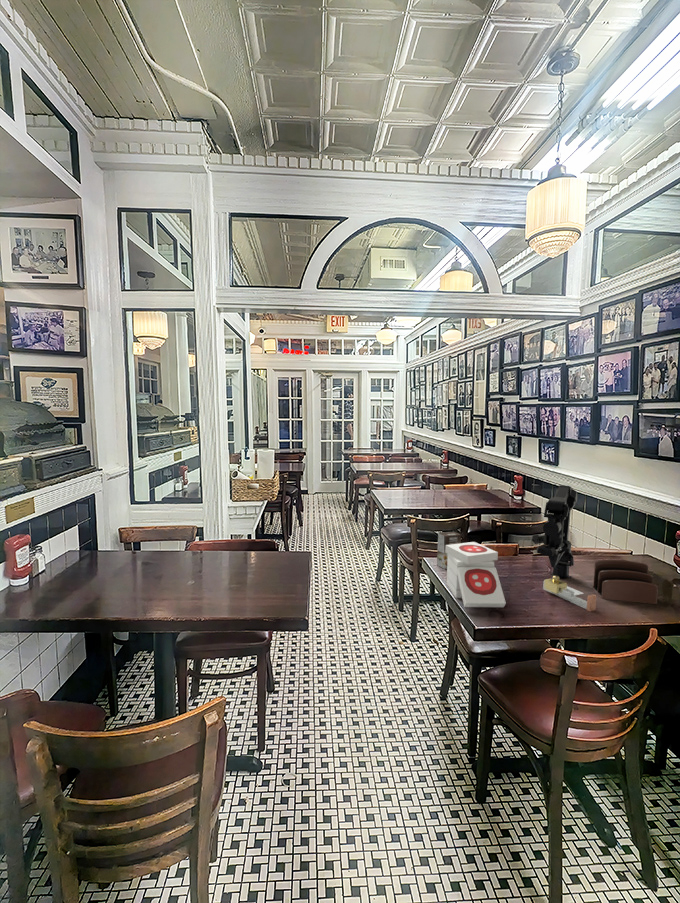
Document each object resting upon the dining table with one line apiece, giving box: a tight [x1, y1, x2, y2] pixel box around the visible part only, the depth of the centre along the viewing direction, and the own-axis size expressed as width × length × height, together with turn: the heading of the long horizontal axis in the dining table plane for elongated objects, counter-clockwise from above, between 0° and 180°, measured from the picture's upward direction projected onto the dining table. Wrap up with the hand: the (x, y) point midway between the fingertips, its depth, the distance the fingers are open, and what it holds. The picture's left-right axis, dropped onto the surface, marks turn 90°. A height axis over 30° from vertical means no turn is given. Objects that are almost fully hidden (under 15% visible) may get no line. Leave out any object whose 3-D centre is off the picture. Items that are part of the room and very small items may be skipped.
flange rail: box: [542, 579, 597, 612], centre depth 170 cm, size 11×22×6 cm, turn 23°
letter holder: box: [592, 559, 659, 605], centre depth 175 cm, size 10×20×14 cm, turn 78°
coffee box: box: [436, 531, 462, 570], centre depth 207 cm, size 9×6×16 cm
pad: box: [567, 585, 585, 596], centre depth 180 cm, size 9×9×1 cm
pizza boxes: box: [445, 541, 507, 608], centre depth 173 cm, size 19×30×18 cm, turn 0°
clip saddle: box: [544, 575, 568, 594], centre depth 176 cm, size 6×6×6 cm
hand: (553, 567), depth 177 cm, fingers closed
